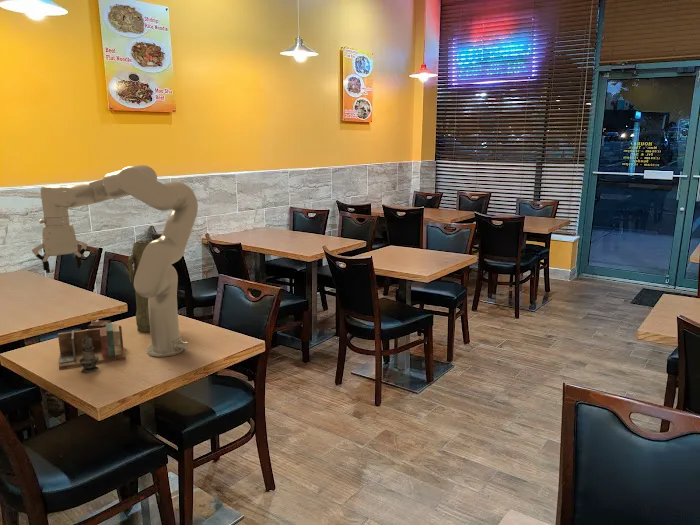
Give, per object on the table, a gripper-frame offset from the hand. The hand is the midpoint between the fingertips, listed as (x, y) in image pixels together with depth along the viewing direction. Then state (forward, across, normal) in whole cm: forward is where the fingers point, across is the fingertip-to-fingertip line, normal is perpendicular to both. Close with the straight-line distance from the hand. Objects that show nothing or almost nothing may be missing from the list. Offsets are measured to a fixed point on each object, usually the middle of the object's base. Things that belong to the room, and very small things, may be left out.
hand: (63, 269), depth 189 cm
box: (+29, +9, -2) cm, 30 cm away
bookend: (+27, -5, -14) cm, 31 cm away
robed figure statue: (+29, +28, 0) cm, 40 cm away
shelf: (+28, +2, -16) cm, 33 cm away
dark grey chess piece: (+29, -2, -26) cm, 39 cm away
